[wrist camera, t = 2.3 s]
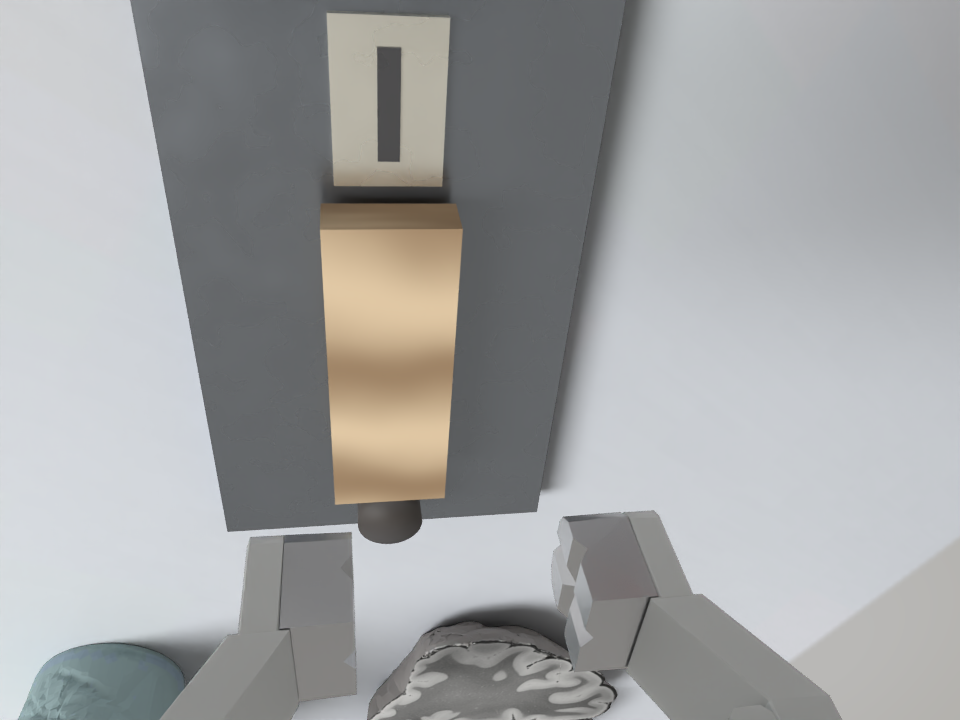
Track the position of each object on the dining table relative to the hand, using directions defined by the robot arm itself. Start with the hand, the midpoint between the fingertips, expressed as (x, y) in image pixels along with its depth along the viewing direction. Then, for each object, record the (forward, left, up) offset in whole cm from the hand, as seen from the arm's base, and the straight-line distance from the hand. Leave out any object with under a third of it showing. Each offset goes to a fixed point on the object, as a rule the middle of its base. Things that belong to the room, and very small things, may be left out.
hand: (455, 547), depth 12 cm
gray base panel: (+8, 0, -21) cm, 23 cm away
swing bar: (+12, 0, -19) cm, 22 cm away
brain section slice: (+42, +7, -22) cm, 48 cm away
